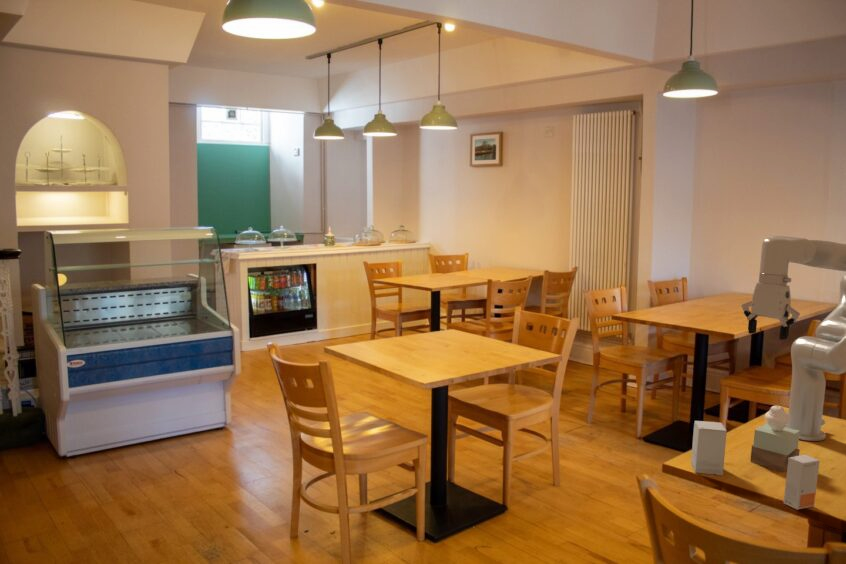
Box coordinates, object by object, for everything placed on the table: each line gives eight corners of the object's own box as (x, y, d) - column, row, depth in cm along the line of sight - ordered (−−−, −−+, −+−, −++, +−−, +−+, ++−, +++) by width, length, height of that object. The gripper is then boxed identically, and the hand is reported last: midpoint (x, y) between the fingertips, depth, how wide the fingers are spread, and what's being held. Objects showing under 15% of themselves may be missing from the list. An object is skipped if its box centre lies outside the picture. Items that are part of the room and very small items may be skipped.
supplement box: (723, 475, 197) (727, 430, 195) (694, 473, 198) (698, 428, 196) (718, 465, 204) (722, 422, 202) (690, 462, 205) (693, 419, 204)
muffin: (772, 421, 210) (772, 399, 208) (793, 427, 205) (793, 405, 203) (760, 429, 206) (760, 406, 204) (781, 436, 202) (782, 413, 200)
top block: (764, 439, 212) (766, 422, 212) (797, 447, 206) (799, 430, 206) (753, 446, 206) (754, 429, 205) (786, 455, 200) (788, 438, 199)
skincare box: (797, 510, 177) (802, 463, 175) (782, 503, 180) (787, 457, 179) (815, 506, 179) (820, 460, 177) (800, 499, 183) (805, 454, 181)
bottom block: (767, 456, 213) (768, 439, 212) (797, 466, 206) (799, 449, 205) (750, 462, 208) (751, 445, 207) (781, 472, 201) (782, 455, 200)
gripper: (808, 282, 212) (802, 340, 214) (752, 275, 226) (747, 329, 228) (795, 284, 208) (789, 343, 210) (738, 276, 221) (733, 332, 224)
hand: (767, 336), depth 219 cm, fingers open, 9 cm apart
